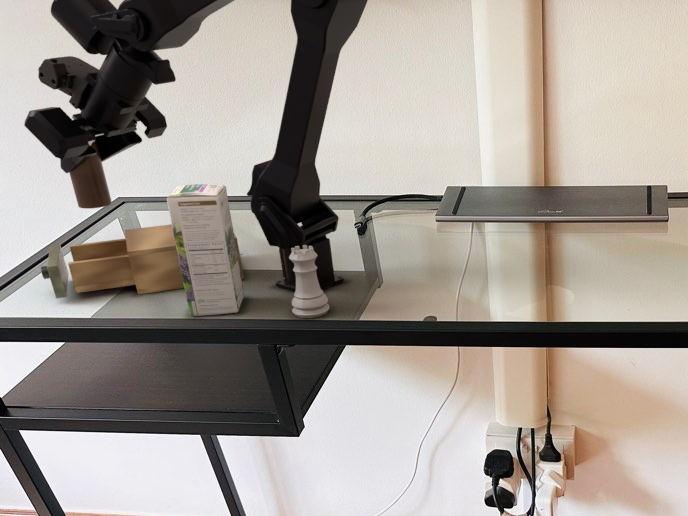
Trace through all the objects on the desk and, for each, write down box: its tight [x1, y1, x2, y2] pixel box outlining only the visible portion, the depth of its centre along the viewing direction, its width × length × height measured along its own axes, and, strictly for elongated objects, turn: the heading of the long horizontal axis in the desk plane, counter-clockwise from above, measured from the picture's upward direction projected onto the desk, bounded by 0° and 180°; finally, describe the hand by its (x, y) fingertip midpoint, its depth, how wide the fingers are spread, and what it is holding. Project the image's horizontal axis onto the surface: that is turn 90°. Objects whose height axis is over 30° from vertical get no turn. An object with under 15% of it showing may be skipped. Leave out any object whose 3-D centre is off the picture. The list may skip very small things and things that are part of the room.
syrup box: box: [166, 183, 245, 317], centre depth 99 cm, size 6×6×14 cm
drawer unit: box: [124, 223, 245, 295], centre depth 112 cm, size 13×11×6 cm
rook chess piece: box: [289, 245, 331, 319], centre depth 98 cm, size 4×4×8 cm
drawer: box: [40, 238, 136, 299], centre depth 108 cm, size 14×10×4 cm
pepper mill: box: [68, 139, 113, 209], centre depth 112 cm, size 4×4×11 cm
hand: (77, 167), depth 113 cm, fingers closed on pepper mill, 4 cm apart
